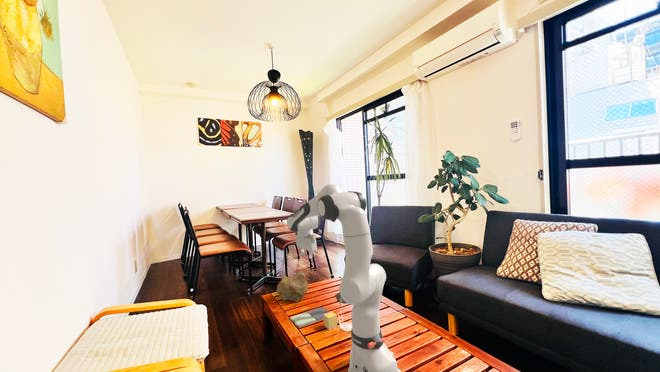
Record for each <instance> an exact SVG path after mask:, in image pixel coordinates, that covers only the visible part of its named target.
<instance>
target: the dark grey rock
mask: <svg viewBox="0 0 660 372" xmlns="http://www.w3.org/2000/svg"><path fill="white" fill-rule="evenodd" d="M335 297H336V299H337V300H338V302H339V303H340V304H343V305H344V304H348V303H347V302H345V301H344V300H343V298H342V297H341V295H340V292H338V293H336V294H335Z"/></svg>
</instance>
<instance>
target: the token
mask: <svg viewBox="0 0 660 372" xmlns="http://www.w3.org/2000/svg"><path fill="white" fill-rule="evenodd" d="M323 315H324V319H323V326H324V327H325V328H326V329H327V330H328V331H330V330H332V329H335V328H337V327H338V316H337V314H336V313H335V312H333V311H331V310H330V311H329V313H326V314H323Z"/></svg>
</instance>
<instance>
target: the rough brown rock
mask: <svg viewBox="0 0 660 372" xmlns="http://www.w3.org/2000/svg"><path fill="white" fill-rule="evenodd" d="M276 287H277V288H276V289H275V290H276V291H275V292H276V295H278V296H280V297H281V299H282V301H285V302H286V301H293V302H295V303H300V302H301V301H302V299H303V298H304V296H305V295H306V293H307V292H308V289H309V284H308V281H307V278H306V274H305V273H304V272H302V271H298V272H296V273H295V275H294V276H293V277H288V276H287V275H283V276H282V277H281V279H280V282H279V283H278V284H277V286H276Z"/></svg>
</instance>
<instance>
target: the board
mask: <svg viewBox="0 0 660 372" xmlns="http://www.w3.org/2000/svg"><path fill="white" fill-rule="evenodd" d="M329 312H330V311H329V310H328V309H326V308H325V307H323V306H320V307H317V308H314V309H311V310H308V311H305V312H303V313H299V314H296V315H293V316H291V317H289V320H290V321H291V322H292V323H294V325H295V326H296V327H298V329H300V328H304V327H307V326H309V325H312V324H314V323H318V322H320V321H324V315H323V314H326V313H329Z"/></svg>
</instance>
